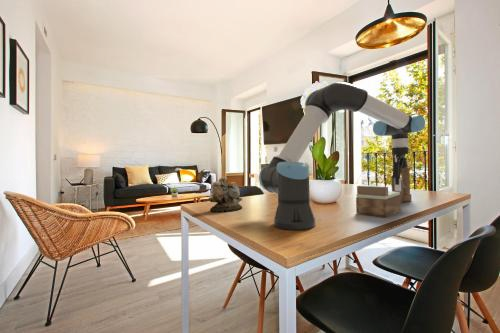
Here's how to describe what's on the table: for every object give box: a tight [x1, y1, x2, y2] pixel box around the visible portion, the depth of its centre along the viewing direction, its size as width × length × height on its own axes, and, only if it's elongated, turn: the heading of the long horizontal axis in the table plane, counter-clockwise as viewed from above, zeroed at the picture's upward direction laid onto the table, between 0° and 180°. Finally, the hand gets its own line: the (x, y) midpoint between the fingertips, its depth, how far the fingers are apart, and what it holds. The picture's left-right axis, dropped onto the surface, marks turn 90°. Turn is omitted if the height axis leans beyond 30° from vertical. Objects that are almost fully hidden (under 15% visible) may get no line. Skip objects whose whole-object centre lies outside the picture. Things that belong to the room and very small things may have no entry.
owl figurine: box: [208, 176, 243, 214], centre depth 129 cm, size 18×12×17 cm, turn 122°
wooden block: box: [391, 166, 412, 204], centre depth 134 cm, size 4×11×18 cm, turn 115°
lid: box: [355, 185, 400, 200], centre depth 110 cm, size 12×17×5 cm
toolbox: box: [355, 195, 402, 218], centre depth 110 cm, size 12×17×7 cm
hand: (401, 189), depth 133 cm, fingers open, 9 cm apart
